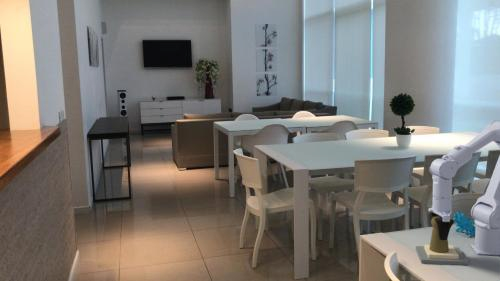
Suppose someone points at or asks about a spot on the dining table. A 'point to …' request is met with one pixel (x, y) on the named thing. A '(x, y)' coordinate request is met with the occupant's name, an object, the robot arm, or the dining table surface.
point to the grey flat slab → (441, 256)
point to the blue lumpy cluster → (464, 224)
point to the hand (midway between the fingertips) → (441, 236)
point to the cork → (437, 240)
